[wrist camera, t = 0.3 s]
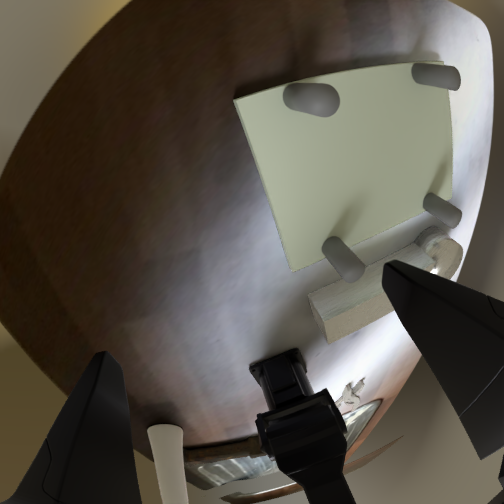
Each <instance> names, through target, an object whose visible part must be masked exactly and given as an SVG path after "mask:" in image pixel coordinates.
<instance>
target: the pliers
mask: <svg viewBox="0 0 504 504" xmlns="http://www.w3.org/2000/svg"><path fill="white" fill-rule="evenodd" d="M364 385H365V384H364V383H363V381H362V380H360V381H359V382H358V383H357V384H356V385H355V387H354V388H353V389H351V388H350V386H349V385H347V386H345V389H344V391H343V393H342V395H343V396H342V397H340V398H339V400H337V401H336V402H335V404H336V406H337V408H338V407H340V406H341V404H340V403H341V402H342V401H344V403H345V404H346V405H353V408H352V410H351V412H353V411H354V410H355V409H356V408H357V407H358V405H359V402H360V400H359V397H358V396H356V395H355V394H358V393H360V391H361V390H362V388H363V387H364ZM349 401H350V402H352V403H347V402H349Z"/></svg>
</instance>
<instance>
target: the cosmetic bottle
mask: <svg viewBox="0 0 504 504" xmlns="http://www.w3.org/2000/svg"><path fill="white" fill-rule="evenodd" d="M147 432H148V435H149V439H150V443H151V447H152V452H153V456H154V461H155V466H156V472H157V477H158V482H159V487H160V492H161V497H162V501H163V504H189V501H188V495H187V489H186V481H185V473H184V464H183V430H182V428H180V427H178V426H175V425H170V424H158V425H153V426H151V427H149V428H148V430H147Z"/></svg>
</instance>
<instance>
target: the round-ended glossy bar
mask: <svg viewBox="0 0 504 504" xmlns="http://www.w3.org/2000/svg"><path fill="white" fill-rule="evenodd" d="M462 256H463V249H462V246H461V245H460V244H458V243H457V242H456V241H455V240H453V239H452V238H451V237H449V236H448V235H447V234H446V233H444V232H443V231H442V230H440V229H439V228H437V227H430V228H427V229H426V230H424V231H423V232H422V233H421V234H420V235H419V236H418V237H417V238H416V240H415V241H414V243H412V244H410V245H408V246H406V247H404V248H403V249H401V250H399V251H397V252H395V253H393V254H391V255H389V256H387V257H385V258H383V259H381V260H379V261H377V262H375V263H373V264H371V265H369V266H367V267H365V272H364V274H363V276H362V277H361V278H360V279H359V280H357V281H356V282H353V283H347V282H345V281H344V279H343V278H342V279H340V280H338V281H336V282H334V283H332V284H329V285H327V286H325V287H323V288H321V289H319V290H316V291H314V292H312V293H310V294H308V297H309V301H310V305H311V309H312V313H313V317H314V319H315V321H316V323H317V325H318V326H319V328H320V330H321V332H322V334H323V335H324V337H325V339H326V341H327V343H328V344H330V343H332V342H334V341H337V340H339V339H341V338H343V337H345V336H347V335H349V334H351V333H353V332H355V331H357V330H359V329H361V328H362V327H364V326H366V325H368V324H370V323H372V322H374V321H376V320H377V319H379V318H381V317H383V316H385V315H387V314H388V313H390V312H392V311H394V308H393V306H392V304H391V303H390V301H389V299H388V297H387V295H386V294H385V292H384V290H383V288H382V283H381V281H382V273H383V265H384V264H385V263H386V262H388V261H391V260H393V259H396V260H399V261H402V262H405V263H407V264H410V265H413V266H415V267H418V268H421V269H423V270H426V271H428V272H431V273H434V274H436V275H439V276H441V277H444V278H446V279H449V280H450V279H451V277H452V276H453V275H454V274H455V272H456V271H457V269H458V267H459V265H460V263H461V260H462Z"/></svg>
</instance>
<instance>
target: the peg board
mask: <svg viewBox="0 0 504 504" xmlns="http://www.w3.org/2000/svg"><path fill="white" fill-rule="evenodd" d="M460 84H461V78H460V74H459V72H458V70H457V69H456V68H455V67H453V66H446V65H444V62H443V61H420V62H406V63H395V64H385V65H377V66H370V67H363V68H356V69H350V70H345V71H339V72H334V73H329V74H324V75H319V76H315V77H311V78H306V79H302V80H298V81H294V82H290V83H286V84H283V85H279V86H276V87H272V88H269V89H265V90H262V91H259V92H255V93H252V94H249V95H246V96H243V97H240V98H237V99H234V100H233V101H234V104H235V107H236V109H237V112H238V115H239V118H240V121H241V123H242V126H243V129H244V132H245V135H246V137H247V140H248V143H249V146H250V149H251V152H252V155H253V157H254V160H255V163H256V166H257V169H258V172H259V175H260V178H261V181H262V184H263V187H264V190H265V193H266V196H267V199H268V202H269V205H270V208H271V211H272V214H273V217H274V220H275V223H276V226H277V230H278V233H279V236H280V239H281V242H282V245H283V248H284V252H285V255H286V258H287V261H288V265H289V267H290V269H291V270H292V272H296V271H298V270H300V269H303V268H305V267H307V266H309V265H312V264H314V263H316V262H318V261H321V260H323V259H325V258H327V259H328V260H329V262H330V263H331V264H332V265H333V267H334V268H335V269H336V270H337V272H338V273H339V274H340V276H341V277H342V278H343V279H344V281H345V282H347V283H353V282H356V281H357V280H359V279H360V278H361V277H362V276H363V274H364V272H365V265H364V264H363V263H362V261H361V260H360V259H359V258H358V257H357V256H356V255H355V254H354V253H353V252H352V251H351V250H350V248H349V247H352V246H354V245H356V244H358V243H360V242H362V241H364V240H367V239H369V238H371V237H373V236H375V235H377V234H379V233H382V232H384V231H386V230H388V229H390V228H392V227H394V226H396V225H398V224H400V223H402V222H404V221H406V220H409V219H411V218H413V217H415V216H417V215H419V214H421V213H423V212H425V211H427V212H429V213H430V214H432V215H433V216H435V217H436V218H438V219H439V220H440V221H442V222H443V223H445V224H446V225H447V226H449V227H450V228H452V229H453V228H455V227H456V226H457V225H458V224H459V222H460V220H461V217H462V212H461V210H459V209H458V208H456V207H455V206H453V205H452V204H450V203H449V202H447V200H449V199H451V198H452V174H453V148H452V125H451V111H450V101H449V93H448V89H449V90H454V91H456V90H458V89H459V87H460Z"/></svg>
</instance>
